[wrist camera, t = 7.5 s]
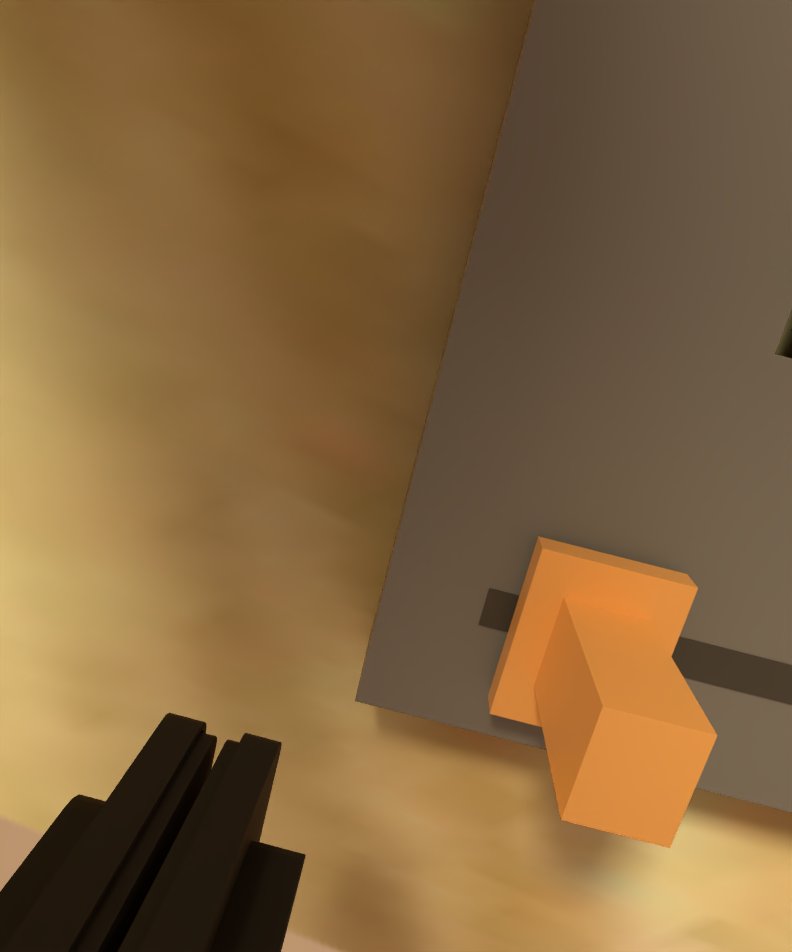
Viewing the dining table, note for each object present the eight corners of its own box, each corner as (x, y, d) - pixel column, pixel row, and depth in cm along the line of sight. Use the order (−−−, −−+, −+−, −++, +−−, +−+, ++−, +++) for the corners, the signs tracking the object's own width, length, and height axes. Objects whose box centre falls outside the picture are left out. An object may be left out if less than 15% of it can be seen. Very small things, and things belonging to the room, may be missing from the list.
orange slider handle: (538, 536, 17) (575, 643, 12) (686, 574, 17) (785, 696, 12) (487, 695, 18) (501, 853, 13) (626, 730, 18) (693, 902, 13)
